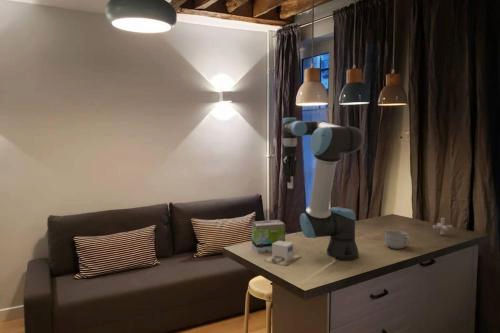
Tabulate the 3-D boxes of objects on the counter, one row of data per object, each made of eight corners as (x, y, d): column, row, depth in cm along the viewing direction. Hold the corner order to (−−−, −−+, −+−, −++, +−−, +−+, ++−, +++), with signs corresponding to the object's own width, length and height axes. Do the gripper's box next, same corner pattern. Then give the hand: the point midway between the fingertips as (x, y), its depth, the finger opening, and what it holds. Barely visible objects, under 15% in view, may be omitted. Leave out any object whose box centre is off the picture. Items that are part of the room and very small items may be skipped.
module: (293, 257, 182) (293, 243, 182) (287, 261, 178) (287, 246, 177) (279, 254, 187) (278, 240, 186) (272, 258, 182) (272, 243, 182)
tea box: (257, 255, 191) (256, 226, 190) (251, 249, 201) (251, 221, 200) (285, 252, 195) (285, 223, 194) (279, 246, 205) (278, 218, 204)
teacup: (380, 245, 203) (380, 230, 202) (397, 243, 206) (397, 228, 206) (398, 253, 190) (399, 237, 189) (416, 250, 193) (417, 235, 193)
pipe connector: (446, 232, 223) (447, 215, 222) (455, 237, 214) (456, 220, 212) (429, 233, 224) (429, 216, 223) (437, 238, 214) (437, 220, 213)
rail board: (301, 259, 185) (301, 253, 184) (286, 268, 173) (286, 262, 173) (280, 254, 192) (280, 249, 191) (264, 262, 180) (264, 257, 180)
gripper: (290, 145, 221) (290, 185, 224) (277, 146, 210) (278, 189, 213) (301, 145, 217) (301, 187, 219) (289, 146, 206) (290, 190, 209)
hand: (290, 188), depth 216 cm, fingers closed
